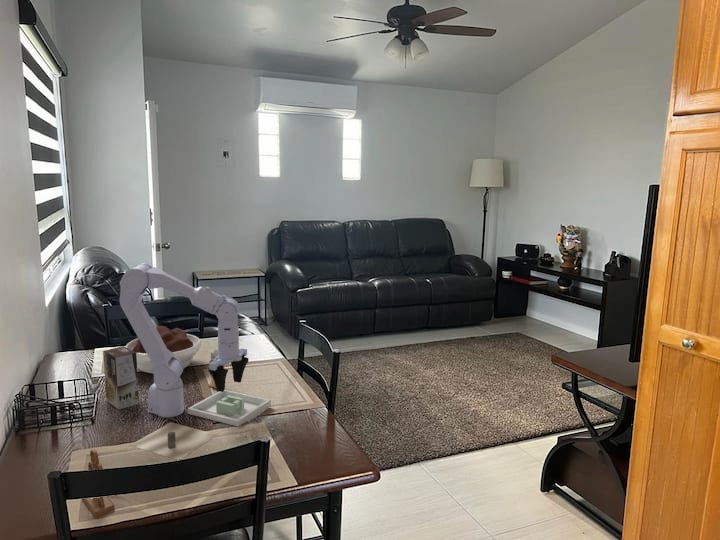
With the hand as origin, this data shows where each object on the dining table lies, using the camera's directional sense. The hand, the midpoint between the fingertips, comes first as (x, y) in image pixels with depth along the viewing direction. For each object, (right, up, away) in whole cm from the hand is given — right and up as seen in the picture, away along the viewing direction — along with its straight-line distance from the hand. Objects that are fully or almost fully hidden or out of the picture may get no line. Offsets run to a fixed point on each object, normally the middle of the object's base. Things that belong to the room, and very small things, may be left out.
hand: (229, 386), depth 151 cm
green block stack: (0, -7, +1) cm, 8 cm away
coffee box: (-34, -7, +7) cm, 35 cm away
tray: (0, -8, +1) cm, 8 cm away
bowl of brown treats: (-32, -2, +35) cm, 47 cm away
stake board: (-10, -11, -17) cm, 22 cm away
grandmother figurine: (-9, -5, +20) cm, 22 cm away
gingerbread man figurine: (-17, -15, -42) cm, 48 cm away
